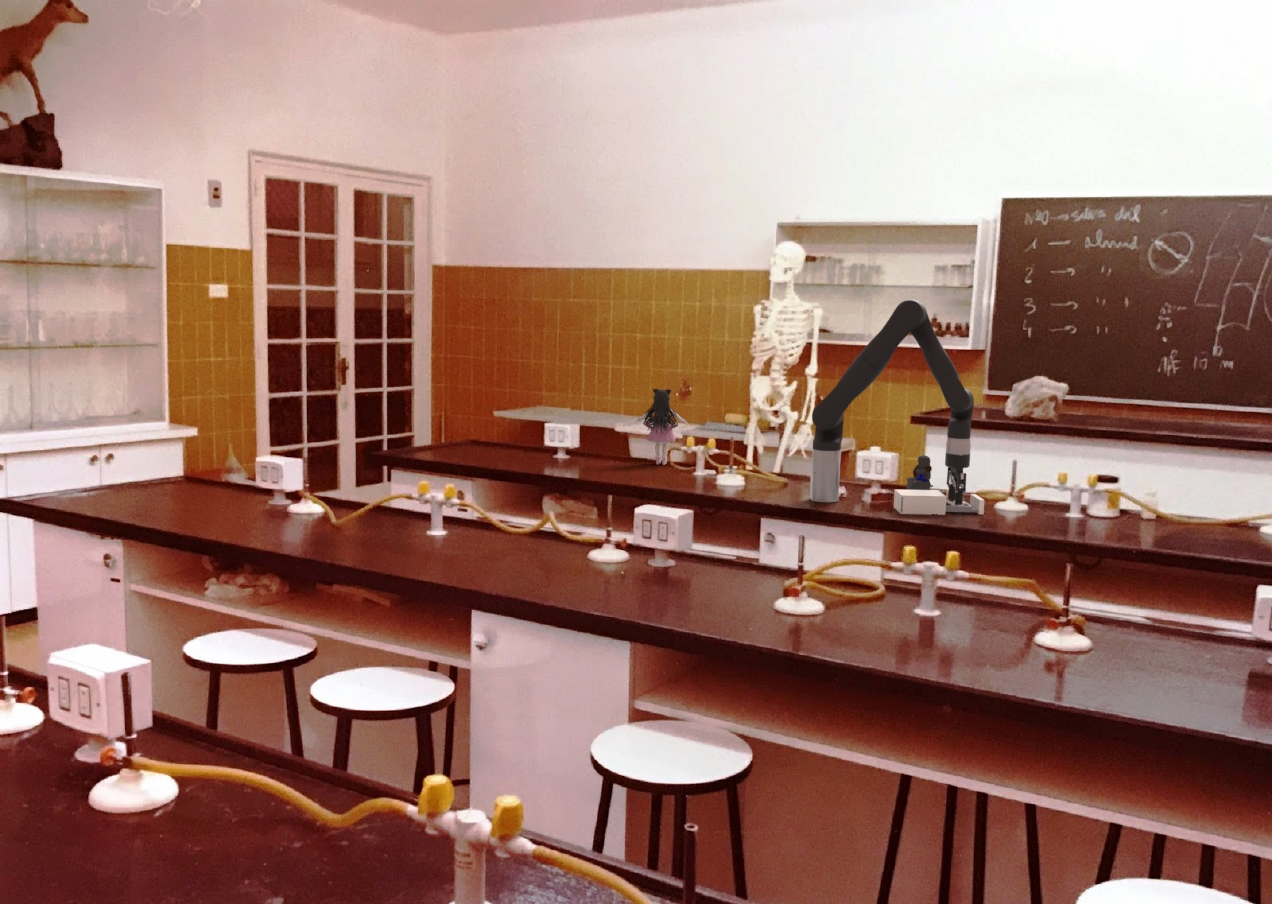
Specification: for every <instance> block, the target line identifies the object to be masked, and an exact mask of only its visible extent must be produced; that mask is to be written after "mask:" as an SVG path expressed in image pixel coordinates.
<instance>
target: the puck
mask: <svg viewBox="0 0 1272 904" xmlns="http://www.w3.org/2000/svg"><path fill="white" fill-rule="evenodd" d="M964 501H965V500H963V502H962V505H956V504H955V500H946V506H965V504H966V502H967V501H965V502H964Z"/></svg>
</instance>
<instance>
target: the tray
mask: <svg viewBox="0 0 1272 904" xmlns="http://www.w3.org/2000/svg"><path fill="white" fill-rule="evenodd" d="M969 498H970V500H969V501H970V502H969V503H968V502H967V501H965V500H963V501H964V502H966V504H965V506H946V511H945V513H946V512H947V513H950V512H951V513H976V514H978V515H984V513H985V512H984V511H985V499H983V498H982V497H980V496H979V495H977V494H976V493H971V494H970V497H969Z"/></svg>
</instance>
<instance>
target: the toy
mask: <svg viewBox="0 0 1272 904" xmlns="http://www.w3.org/2000/svg"><path fill="white" fill-rule="evenodd" d="M932 469H933V467H932V466H931V458H930V457H929V455H920V456H918V457H917V464H916V465H915V467H914V468H913V470H912V475H913V477H907V478H906V480H907V481H906V482H907V483H906V485H907V487H906V489H905V490H931V488H933V487H934V485H933V484H931V480H930V479H931V478H932V477H931V476H932V471H933V470H932Z"/></svg>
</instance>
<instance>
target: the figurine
mask: <svg viewBox="0 0 1272 904" xmlns="http://www.w3.org/2000/svg"><path fill="white" fill-rule="evenodd" d="M652 391H653V393H654V396H653V403H652V405H651V406H650V407H649V408H648V410H646V411H645V413H644V414H643V415H641V416H639V417H638V418H637V420H635V421H634V422H633V423H634V424H635V423H640V422H642V421H643V420H644V421H643V423H642V424H643V425H644V426H645V427H647V430H646V431H650V432H649V434H648V435H647V437H646V441H647V442H650V443H653V444H655V446H654V449H655V450H654V451H655V457H654V458H655V463H656V464H655V465H660V464H661V463H662V465H664V466H665V465H666V464H667V463H668V461H667V449H668V447H667V444H668V443H670V444H671V443H675V442H676V439H677V438H676V437H675V434H674V431H673V429H675V428H677V427H678V426H679V423H678V422H677V420H678V421H679V422H681V423H682V424H685V425H687V426H690V424H689V423H688V422H687V420H686V419H684V418H682V417H681V416H680V415H679V414H678V413H677V412H676V411H675V410H674V409H673V407H672V406H671V404H670V400H671V397H670V394H671V392H672V389H659V388H653V389H652ZM661 444H662V449H661V453H662V454H660V448H661V447H660V446H661ZM661 459H662V460H661Z"/></svg>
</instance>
